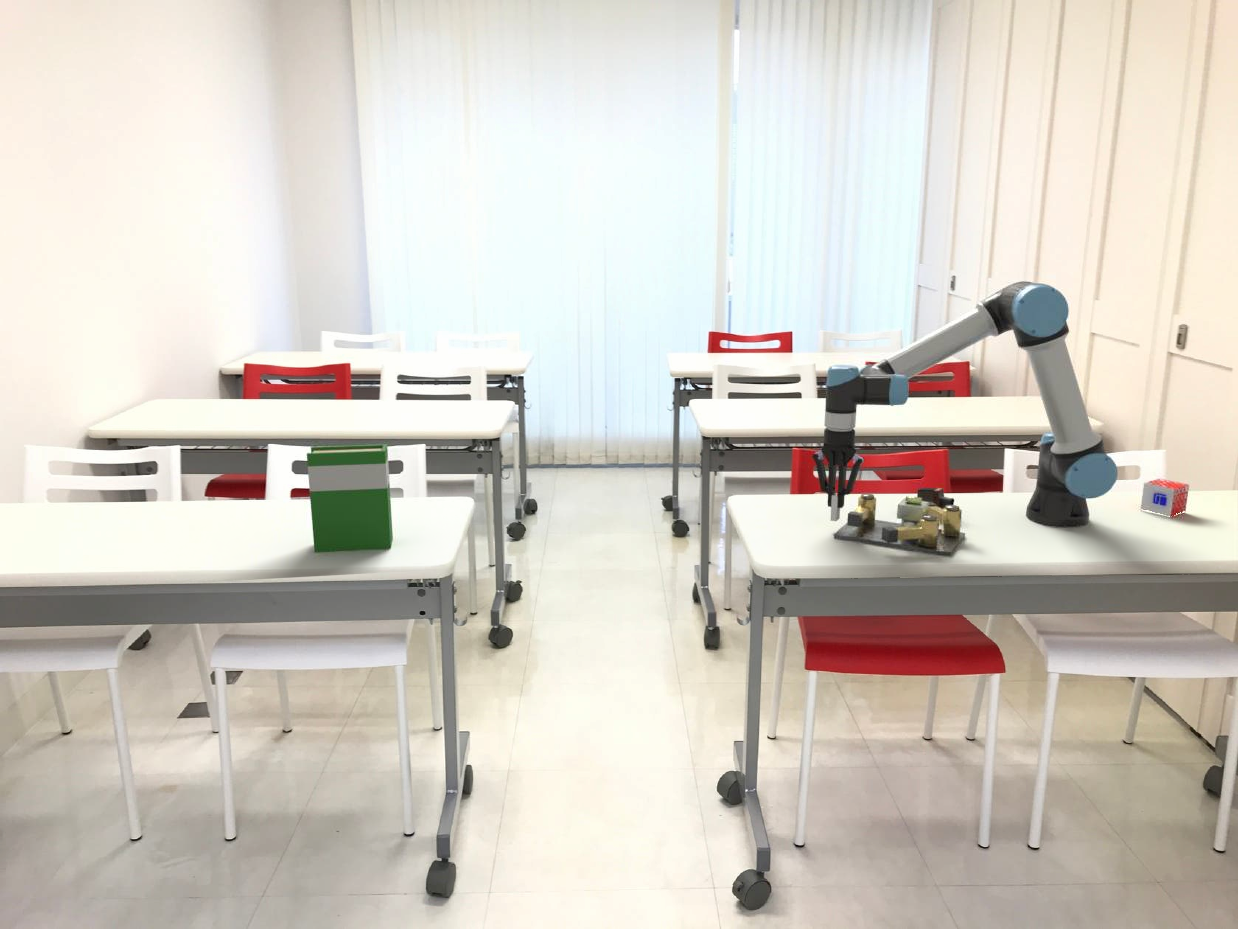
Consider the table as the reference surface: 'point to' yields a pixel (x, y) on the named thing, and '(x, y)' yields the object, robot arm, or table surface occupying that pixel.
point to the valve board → (910, 515)
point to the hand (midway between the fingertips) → (835, 519)
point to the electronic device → (935, 496)
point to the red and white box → (1164, 497)
